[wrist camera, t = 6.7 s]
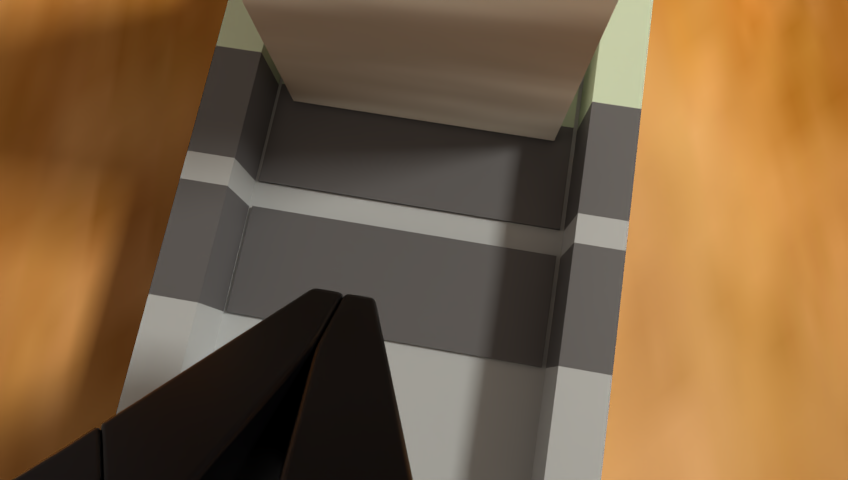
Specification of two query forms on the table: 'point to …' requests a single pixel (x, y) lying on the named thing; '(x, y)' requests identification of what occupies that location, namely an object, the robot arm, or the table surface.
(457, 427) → the channel
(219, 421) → the robot arm
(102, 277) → the table surface
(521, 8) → the cream block
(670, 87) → the table surface
